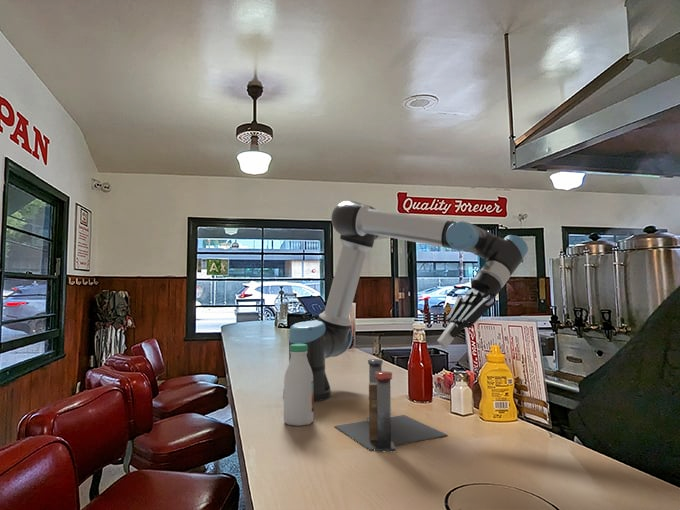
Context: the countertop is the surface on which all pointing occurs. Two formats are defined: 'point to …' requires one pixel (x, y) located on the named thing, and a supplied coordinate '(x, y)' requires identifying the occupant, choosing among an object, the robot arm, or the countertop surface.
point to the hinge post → (374, 366)
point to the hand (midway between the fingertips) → (441, 344)
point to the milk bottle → (298, 388)
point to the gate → (372, 411)
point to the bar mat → (392, 431)
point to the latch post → (383, 412)
